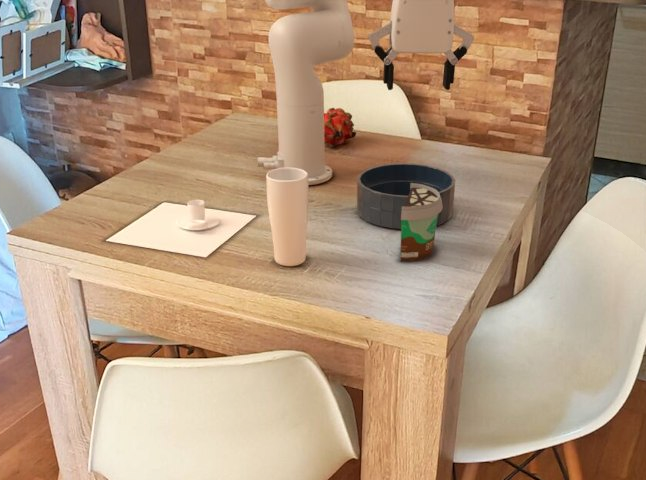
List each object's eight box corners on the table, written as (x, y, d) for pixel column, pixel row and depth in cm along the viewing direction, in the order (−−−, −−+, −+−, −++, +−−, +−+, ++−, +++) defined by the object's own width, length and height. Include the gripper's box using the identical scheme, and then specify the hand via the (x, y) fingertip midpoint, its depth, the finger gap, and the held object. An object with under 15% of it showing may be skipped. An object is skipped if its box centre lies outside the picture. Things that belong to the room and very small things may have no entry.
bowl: (362, 232, 148) (362, 198, 145) (352, 196, 163) (352, 164, 160) (461, 229, 149) (464, 195, 146) (442, 193, 165) (444, 162, 161)
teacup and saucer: (205, 236, 147) (203, 214, 144) (166, 230, 149) (163, 208, 147) (227, 219, 153) (226, 198, 151) (190, 213, 156) (187, 192, 153)
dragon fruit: (337, 141, 199) (340, 164, 190) (308, 122, 195) (310, 144, 186) (358, 113, 195) (363, 135, 186) (329, 93, 191) (333, 115, 182)
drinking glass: (269, 253, 141) (265, 167, 132) (309, 251, 141) (307, 166, 133) (270, 270, 135) (265, 181, 127) (311, 268, 135) (309, 180, 127)
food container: (435, 267, 136) (439, 210, 130) (399, 264, 137) (401, 207, 131) (442, 238, 146) (446, 184, 140) (408, 236, 147) (410, 181, 141)
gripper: (474, -28, 132) (464, 82, 142) (368, -29, 131) (364, 82, 141) (484, -20, 126) (472, 94, 136) (372, -21, 125) (369, 94, 135)
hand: (417, 87), depth 138 cm, fingers open, 9 cm apart
